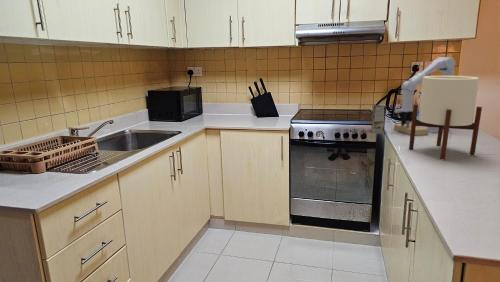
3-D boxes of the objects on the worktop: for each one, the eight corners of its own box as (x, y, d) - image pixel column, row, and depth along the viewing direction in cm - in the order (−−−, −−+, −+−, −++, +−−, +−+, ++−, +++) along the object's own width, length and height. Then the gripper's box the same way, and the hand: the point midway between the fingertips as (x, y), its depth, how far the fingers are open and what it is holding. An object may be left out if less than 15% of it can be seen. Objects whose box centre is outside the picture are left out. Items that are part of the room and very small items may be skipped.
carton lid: (408, 124, 216) (409, 117, 215) (428, 130, 199) (429, 122, 198) (394, 125, 214) (395, 117, 213) (412, 131, 197) (413, 123, 196)
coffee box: (384, 133, 205) (386, 106, 201) (373, 133, 206) (375, 106, 202) (381, 130, 214) (384, 104, 210) (371, 130, 215) (373, 104, 211)
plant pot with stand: (438, 144, 180) (447, 75, 171) (479, 155, 160) (491, 77, 151) (404, 148, 173) (412, 76, 164) (442, 161, 152) (453, 79, 143)
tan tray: (408, 129, 217) (408, 124, 216) (427, 135, 200) (428, 130, 199) (393, 129, 215) (394, 125, 214) (412, 136, 198) (412, 131, 197)
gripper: (414, 100, 207) (411, 122, 211) (392, 101, 205) (390, 123, 208) (421, 101, 201) (419, 124, 204) (399, 102, 198) (397, 125, 201)
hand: (405, 124), depth 206 cm, fingers closed on carton lid, 2 cm apart
